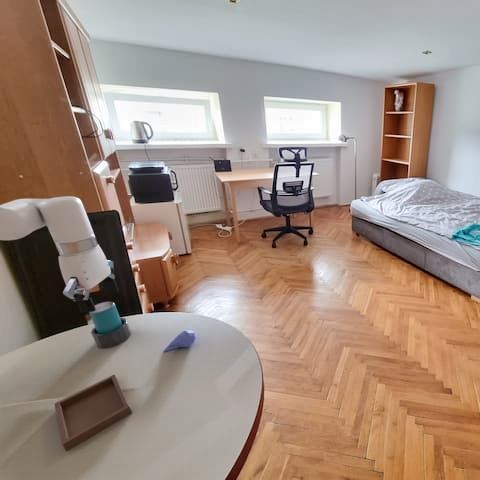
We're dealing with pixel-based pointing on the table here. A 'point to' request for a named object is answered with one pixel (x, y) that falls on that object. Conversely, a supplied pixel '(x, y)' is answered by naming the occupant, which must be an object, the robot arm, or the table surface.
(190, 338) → the blue teardrop shape
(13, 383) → the table surface
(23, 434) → the table surface
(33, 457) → the table surface
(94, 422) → the tray
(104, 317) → the can
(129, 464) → the table surface
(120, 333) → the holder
